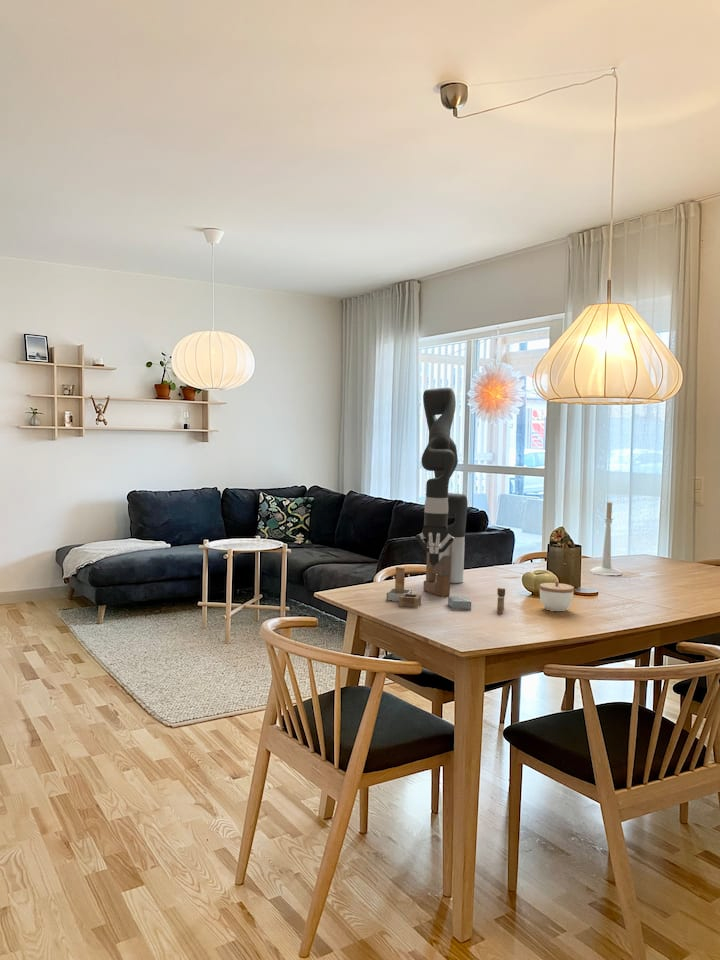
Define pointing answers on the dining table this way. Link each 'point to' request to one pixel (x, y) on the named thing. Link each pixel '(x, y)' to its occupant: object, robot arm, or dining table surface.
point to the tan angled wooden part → (438, 575)
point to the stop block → (500, 600)
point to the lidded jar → (556, 596)
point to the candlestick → (607, 546)
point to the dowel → (399, 580)
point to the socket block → (410, 600)
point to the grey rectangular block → (459, 602)
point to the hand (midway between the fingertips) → (434, 564)
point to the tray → (394, 596)
